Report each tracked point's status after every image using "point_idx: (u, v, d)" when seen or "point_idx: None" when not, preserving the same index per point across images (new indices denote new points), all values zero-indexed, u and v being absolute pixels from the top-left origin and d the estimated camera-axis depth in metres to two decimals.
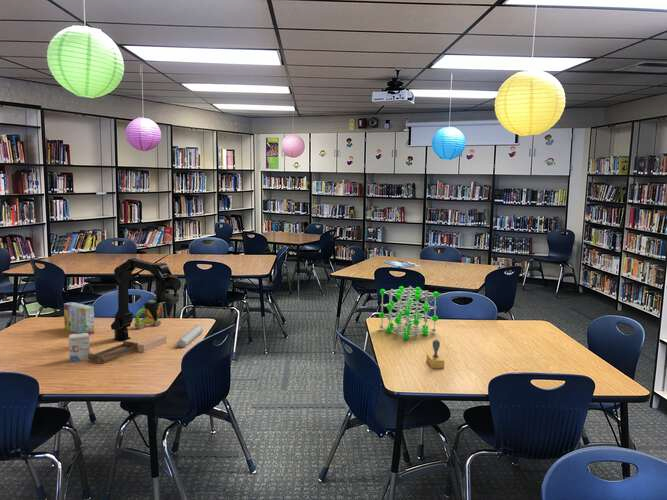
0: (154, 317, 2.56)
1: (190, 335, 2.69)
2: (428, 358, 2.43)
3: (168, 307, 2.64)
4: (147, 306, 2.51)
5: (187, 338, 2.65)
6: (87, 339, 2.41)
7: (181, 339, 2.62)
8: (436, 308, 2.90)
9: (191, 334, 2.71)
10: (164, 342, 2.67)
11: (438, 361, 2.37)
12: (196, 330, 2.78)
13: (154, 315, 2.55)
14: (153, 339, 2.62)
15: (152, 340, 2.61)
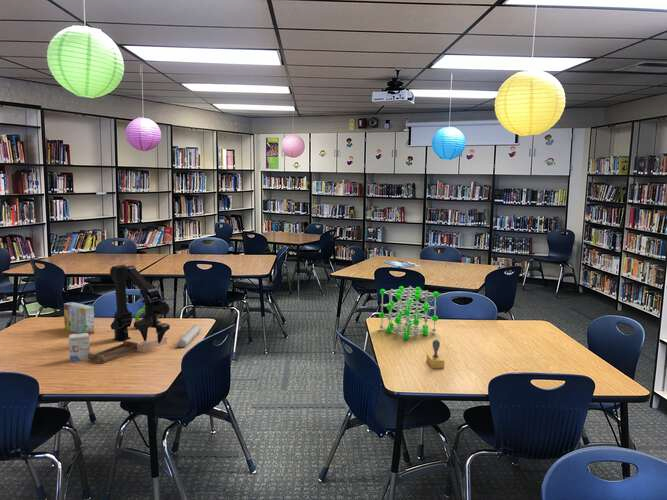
0: None
1: (190, 335, 2.69)
2: (428, 358, 2.43)
3: None
4: None
5: (187, 338, 2.65)
6: (87, 339, 2.41)
7: (182, 339, 2.62)
8: (436, 307, 2.90)
9: (191, 334, 2.71)
10: (164, 342, 2.66)
11: (438, 361, 2.37)
12: (195, 330, 2.78)
13: None
14: (153, 339, 2.62)
15: (152, 340, 2.61)
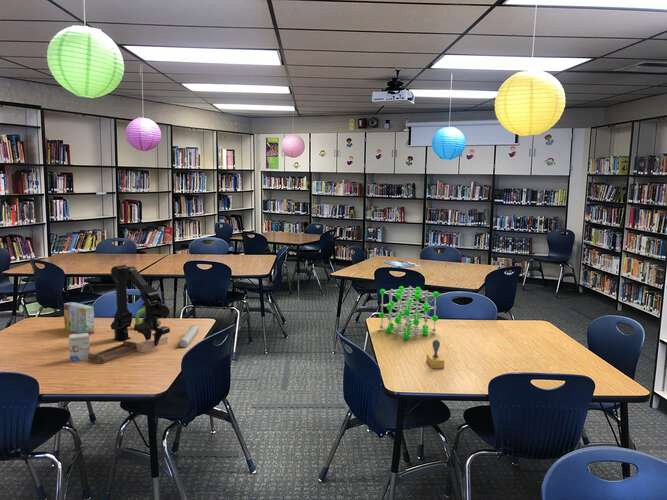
0: None
1: (190, 335, 2.70)
2: (428, 358, 2.43)
3: None
4: None
5: (188, 338, 2.65)
6: (87, 339, 2.41)
7: (182, 339, 2.62)
8: (436, 307, 2.90)
9: (190, 334, 2.71)
10: (165, 342, 2.66)
11: (438, 361, 2.37)
12: (194, 330, 2.78)
13: None
14: (153, 339, 2.62)
15: (152, 340, 2.61)
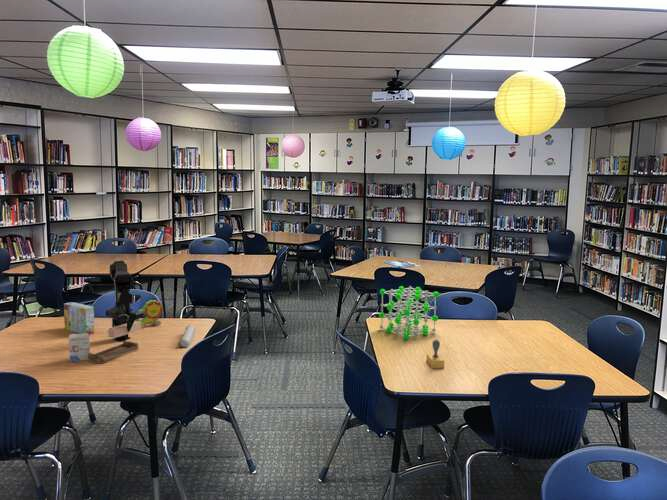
0: None
1: (189, 335, 2.70)
2: (428, 358, 2.43)
3: None
4: None
5: (188, 338, 2.65)
6: (87, 339, 2.41)
7: (184, 339, 2.62)
8: (436, 307, 2.90)
9: (189, 334, 2.71)
10: (138, 328, 2.56)
11: (438, 361, 2.37)
12: (191, 330, 2.78)
13: None
14: (126, 324, 2.52)
15: (125, 325, 2.50)
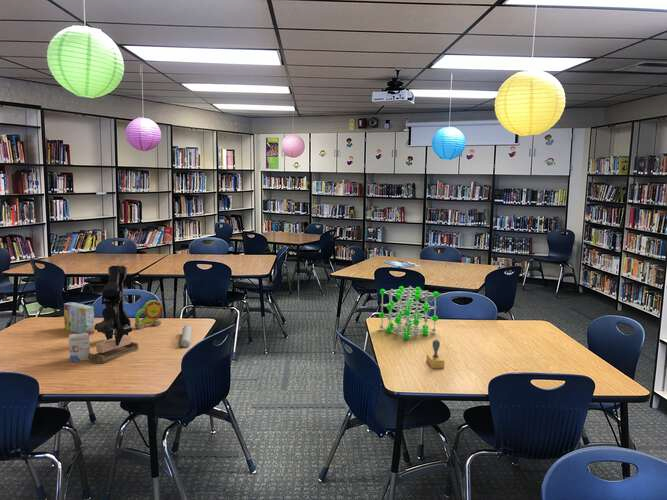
0: None
1: (189, 335, 2.70)
2: (428, 358, 2.43)
3: None
4: None
5: (189, 338, 2.65)
6: (87, 339, 2.41)
7: (185, 339, 2.62)
8: (436, 307, 2.90)
9: (189, 334, 2.71)
10: (127, 342, 2.53)
11: (438, 361, 2.37)
12: (190, 330, 2.78)
13: None
14: None
15: (113, 339, 2.48)
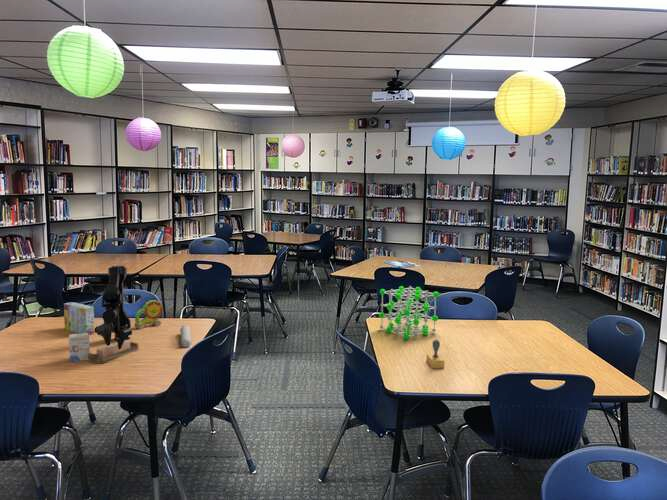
0: None
1: (188, 335, 2.70)
2: (428, 358, 2.43)
3: None
4: None
5: (189, 337, 2.66)
6: (87, 339, 2.41)
7: (185, 339, 2.62)
8: (436, 307, 2.90)
9: (188, 334, 2.71)
10: (128, 347, 2.54)
11: (438, 361, 2.37)
12: (188, 330, 2.78)
13: None
14: (115, 344, 2.50)
15: (113, 345, 2.48)
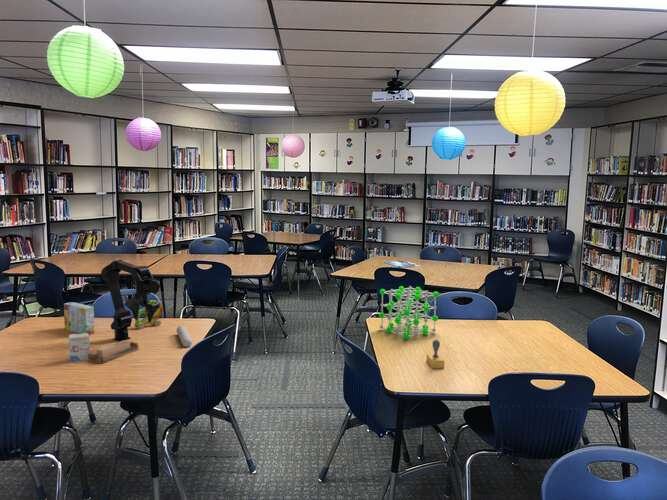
0: None
1: (188, 335, 2.70)
2: (428, 358, 2.43)
3: None
4: None
5: (189, 337, 2.66)
6: (87, 339, 2.41)
7: (187, 339, 2.62)
8: (436, 307, 2.90)
9: (187, 334, 2.71)
10: (128, 347, 2.54)
11: (438, 361, 2.37)
12: (186, 330, 2.78)
13: None
14: (115, 344, 2.50)
15: (113, 345, 2.48)
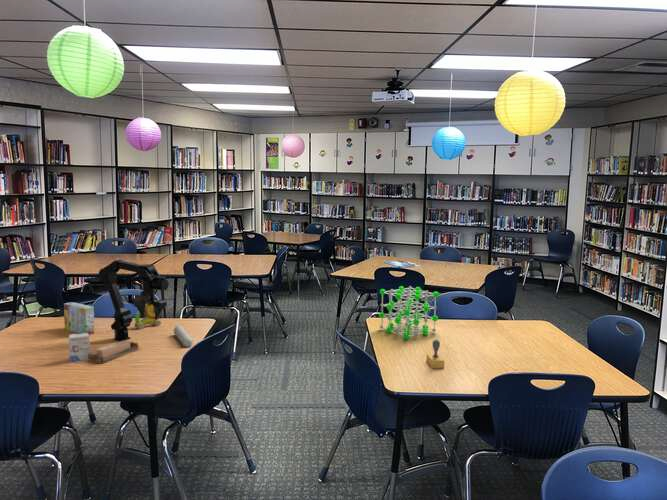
0: None
1: (187, 334, 2.70)
2: (428, 358, 2.43)
3: None
4: None
5: (190, 337, 2.66)
6: (87, 339, 2.41)
7: (187, 339, 2.62)
8: (436, 307, 2.90)
9: (187, 334, 2.71)
10: (128, 347, 2.54)
11: (438, 361, 2.37)
12: (184, 330, 2.78)
13: None
14: (115, 344, 2.50)
15: (113, 345, 2.48)
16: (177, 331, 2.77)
